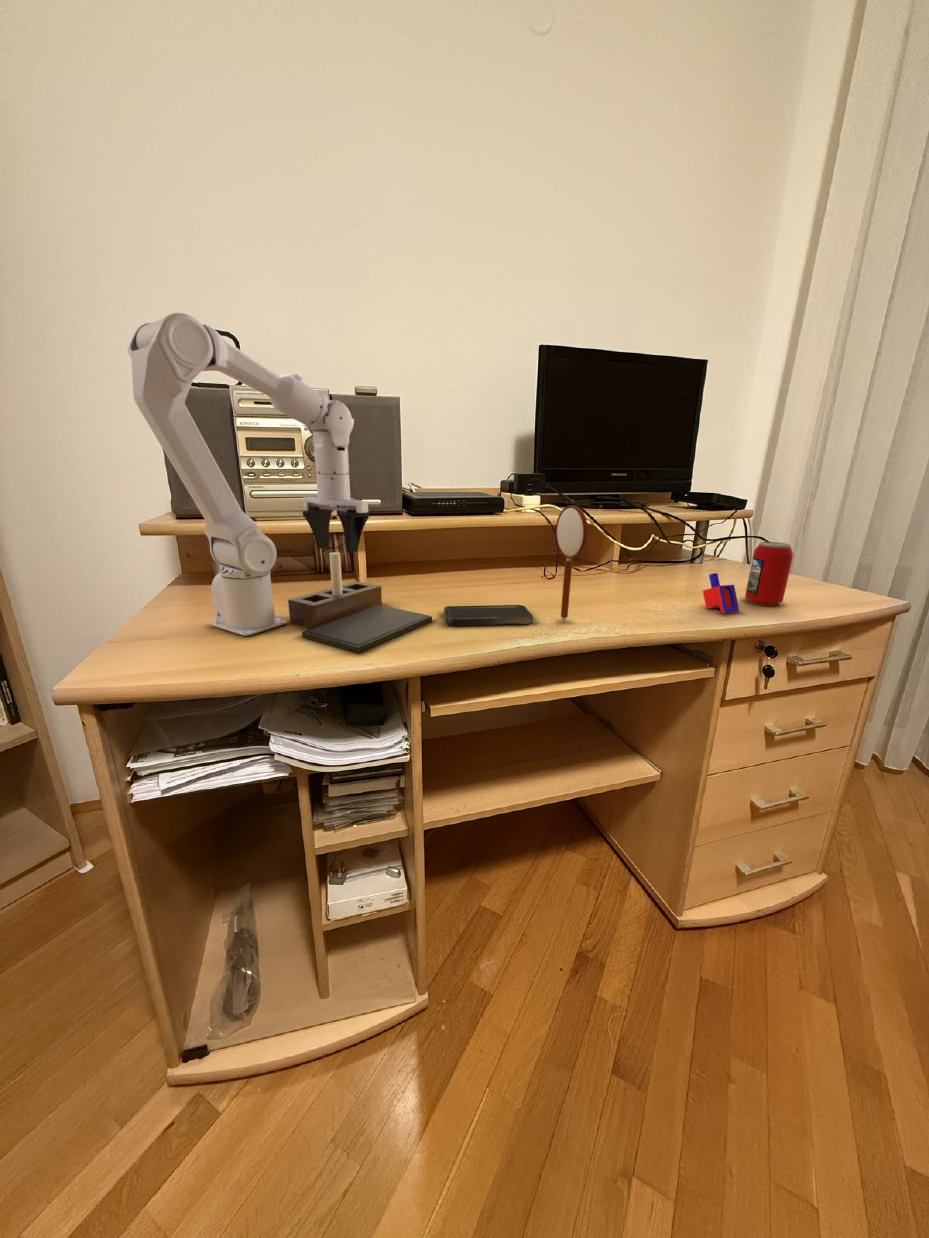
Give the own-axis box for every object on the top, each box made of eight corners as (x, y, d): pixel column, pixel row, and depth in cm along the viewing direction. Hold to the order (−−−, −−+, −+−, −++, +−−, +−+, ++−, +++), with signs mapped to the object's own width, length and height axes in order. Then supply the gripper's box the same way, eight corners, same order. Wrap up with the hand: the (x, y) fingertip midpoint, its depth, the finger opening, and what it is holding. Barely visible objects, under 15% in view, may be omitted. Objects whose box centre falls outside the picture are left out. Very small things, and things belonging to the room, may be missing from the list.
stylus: (331, 613, 88) (327, 553, 85) (338, 611, 90) (334, 551, 86) (338, 615, 87) (334, 554, 84) (346, 613, 89) (342, 553, 85)
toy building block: (722, 615, 96) (714, 576, 97) (739, 611, 92) (731, 570, 93) (707, 616, 95) (699, 577, 96) (724, 612, 91) (716, 571, 92)
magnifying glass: (547, 615, 89) (554, 503, 83) (555, 614, 90) (563, 503, 84) (573, 630, 82) (583, 508, 75) (581, 629, 82) (593, 508, 76)
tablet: (302, 637, 76) (301, 631, 76) (379, 609, 91) (379, 604, 91) (358, 654, 70) (358, 647, 70) (432, 621, 85) (432, 615, 84)
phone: (443, 606, 89) (523, 604, 91) (443, 612, 90) (523, 610, 92) (447, 619, 82) (534, 617, 84) (447, 626, 82) (534, 623, 84)
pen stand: (289, 622, 83) (287, 599, 82) (357, 600, 96) (356, 580, 95) (315, 629, 80) (314, 605, 79) (382, 606, 93) (381, 585, 92)
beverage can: (746, 596, 105) (757, 540, 101) (783, 601, 101) (796, 543, 97) (741, 602, 99) (753, 544, 96) (780, 609, 96) (794, 548, 92)
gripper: (378, 474, 87) (381, 550, 91) (321, 472, 94) (326, 543, 98) (349, 475, 81) (354, 556, 85) (291, 473, 88) (298, 547, 93)
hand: (337, 549), depth 91 cm, fingers open, 7 cm apart
